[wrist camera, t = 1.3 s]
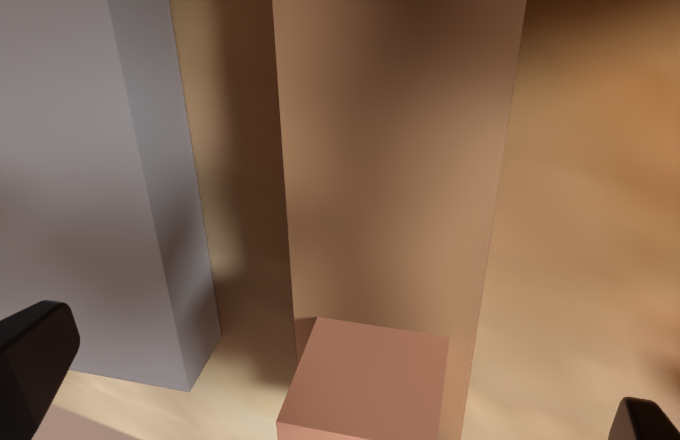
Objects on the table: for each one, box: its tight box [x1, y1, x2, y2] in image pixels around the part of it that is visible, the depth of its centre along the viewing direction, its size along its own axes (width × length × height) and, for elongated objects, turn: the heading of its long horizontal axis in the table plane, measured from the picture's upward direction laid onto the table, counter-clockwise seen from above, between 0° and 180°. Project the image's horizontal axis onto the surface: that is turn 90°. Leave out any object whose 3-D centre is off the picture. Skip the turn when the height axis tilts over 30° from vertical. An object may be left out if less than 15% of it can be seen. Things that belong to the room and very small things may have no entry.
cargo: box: [276, 317, 450, 440], centre depth 18 cm, size 4×4×4 cm
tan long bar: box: [272, 0, 527, 440], centre depth 17 cm, size 6×23×4 cm, turn 0°
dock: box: [0, 0, 222, 392], centre depth 19 cm, size 8×20×3 cm, turn 0°
